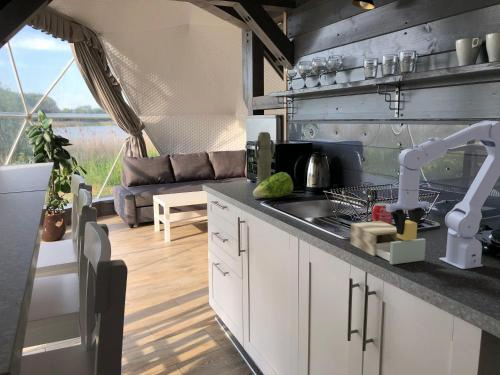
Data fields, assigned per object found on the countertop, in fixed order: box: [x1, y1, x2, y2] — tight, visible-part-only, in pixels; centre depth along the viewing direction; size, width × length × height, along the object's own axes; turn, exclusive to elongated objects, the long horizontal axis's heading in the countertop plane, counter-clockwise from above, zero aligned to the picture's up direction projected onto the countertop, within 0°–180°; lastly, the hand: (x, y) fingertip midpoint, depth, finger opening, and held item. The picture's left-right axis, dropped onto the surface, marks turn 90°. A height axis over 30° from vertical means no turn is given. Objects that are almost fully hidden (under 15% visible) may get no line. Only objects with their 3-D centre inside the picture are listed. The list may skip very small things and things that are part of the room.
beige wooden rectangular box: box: [349, 220, 404, 257], centre depth 147 cm, size 14×12×7 cm
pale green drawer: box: [376, 237, 427, 265], centre depth 139 cm, size 14×12×7 cm
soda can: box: [371, 202, 393, 225], centre depth 163 cm, size 7×7×12 cm
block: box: [397, 219, 418, 240], centre depth 131 cm, size 4×4×5 cm
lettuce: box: [252, 171, 294, 199], centre depth 237 cm, size 14×23×13 cm, turn 117°
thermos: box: [254, 131, 275, 188], centre depth 254 cm, size 9×12×35 cm
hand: (406, 233), depth 132 cm, fingers closed on block, 4 cm apart
